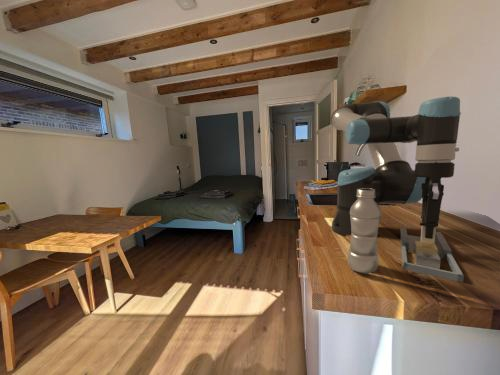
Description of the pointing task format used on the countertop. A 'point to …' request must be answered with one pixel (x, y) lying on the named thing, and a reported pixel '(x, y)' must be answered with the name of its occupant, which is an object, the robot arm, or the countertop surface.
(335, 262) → the countertop surface
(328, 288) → the countertop surface
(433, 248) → the brass block
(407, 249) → the channel
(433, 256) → the steel block
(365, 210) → the plastic bottle
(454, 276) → the grey u-shaped frame
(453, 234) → the countertop surface
